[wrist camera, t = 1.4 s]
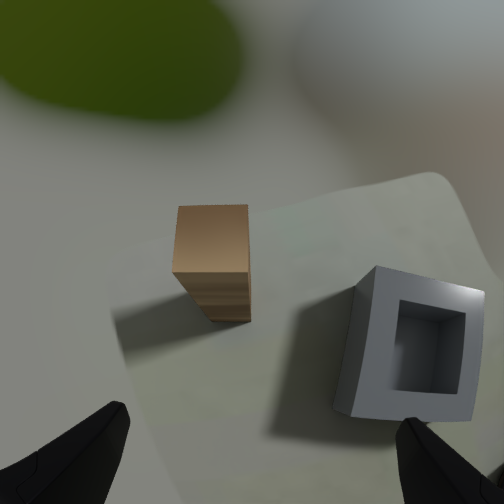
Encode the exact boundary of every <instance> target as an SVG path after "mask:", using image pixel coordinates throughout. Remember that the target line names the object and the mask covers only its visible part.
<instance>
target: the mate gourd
mask: <svg viewBox="0 0 504 504" xmlns="http://www.w3.org/2000/svg"><path fill="white" fill-rule="evenodd" d="M498 487H499V488H500V489H502V490H503V491H504V472H503V474H502V476H501V479H500V481H499V485H498Z"/></svg>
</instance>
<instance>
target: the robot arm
mask: <svg viewBox="0 0 504 504" xmlns="http://www.w3.org/2000/svg"><path fill="white" fill-rule="evenodd" d="M129 427H130V417H129V414H128V411H127V408H126V406H125V404H124V403H122V402H118V401H112V402H110V403H108V404H107V405H106V406H104V407H102V408H101V409H99V410H98V411H97V412H95V413H94V414H92V415H91V416H89V417H88V418H86V419H85V420H83V421H82V422H80V423H79V424H77V425H76V426H74V427H73V428H71V429H70V430H68V431H67V432H65V433H64V434H62V435H60V436H59V437H57V438H56V439H54V440H53V441H51V442H50V443H48V444H46V445H45V446H43V447H42V448H40V449H39V450H38V451H35V452H34V453H32V454H31V455H29V456H27V457H25V458H24V459H22V460H20V461H18V462H17V463H14V464H12V465H10V466H8V467H6V468H4V469H2V470H0V504H104V503H105V500H106V498H107V495H108V492H109V489H110V487H111V484H112V482H113V479H114V477H115V474H116V471H117V469H118V466H119V463H120V461H121V457H122V453H123V449H124V446H125V441H126V438H127V434H128V430H129ZM395 439H396V448H397V458H398V469H399V477H400V482H401V487H402V492H403V497H404V503H405V504H504V491H503V490H502V489H500V488H499V487H497V486H496V485H495V484H494V483H492V482H491V481H490V480H489V479H487V478H486V477H485V476H484V475H483V474H481V473H480V472H479V471H478V470H477V469H476V468H475V467H473V466H472V465H471V464H470V463H469V462H468V461H466V460H465V459H464V458H463V457H462V456H461V455H459V454H458V453H457V452H456V451H455V450H454V449H453V448H451V447H450V446H449V445H448V444H447V443H446V442H445V441H443V440H442V439H441V438H440V437H439V436H438V435H436V434H435V433H434V432H433V431H432V430H431V429H430V428H429V427H427V426H426V425H425V424H424V423H423V422H422V421H421V420H419V419H418V418H417V417H409V418H405V419H404V420H403V422H402V423H401V425H400V427H399V429H398V431H397V433H396V437H395Z"/></svg>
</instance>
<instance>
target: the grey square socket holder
mask: <svg viewBox="0 0 504 504" xmlns="http://www.w3.org/2000/svg"><path fill="white" fill-rule="evenodd" d="M483 326H484V291H480V290H476V289H472V288H468V287H464V286H460V285H456V284H452V283H447V282H443V281H439V280H435V279H431V278H427V277H423V276H419V275H414V274H410V273H406V272H402V271H398V270H393V269H389V268H385V267H381V266H375V267H374V268H373V269H372V270H371V271H370V272H369V273H368V274H367V275H366V276H365V277H364V278H362V279H361V280H360V281H359V282H358V283H357V284H356V285H355V290H354V297H353V304H352V311H351V317H350V323H349V329H348V335H347V340H346V346H345V351H344V356H343V361H342V366H341V371H340V375H339V380H338V385H337V389H336V393H335V398H334V402H333V406H332V409H334V410H337V411H339V412H341V413H343V414H346V415H348V416H351V417H359V418H369V419H381V420H396V421H403V420H404V419H405V418H409V417H417V418H418V419H419V420H421V421H422V422H460V421H471V419H472V414H473V409H474V404H475V398H476V393H477V386H478V379H479V372H480V364H481V354H482V342H483Z"/></svg>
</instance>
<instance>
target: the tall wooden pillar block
mask: <svg viewBox="0 0 504 504" xmlns="http://www.w3.org/2000/svg"><path fill="white" fill-rule="evenodd" d="M172 273H173V274H174V275H175V277H176V278H177V279H178V281H179V282H180V283H181V284H182V286H183V287H184V288H185V289H186V291H187V292H188V293H189V294H190V296H191V297H192V298H193V299H194V301H195V302H196V303H197V304H198V305H199V307H200V308H201V309H202V310H203V312H204V313H205V314H206V315H207V316H208V318H209V319H210V320H211V321H213V322H251V272H250V246H249V220H248V205H198V206H179V208H178V217H177V225H176V234H175V244H174V254H173V265H172Z"/></svg>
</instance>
